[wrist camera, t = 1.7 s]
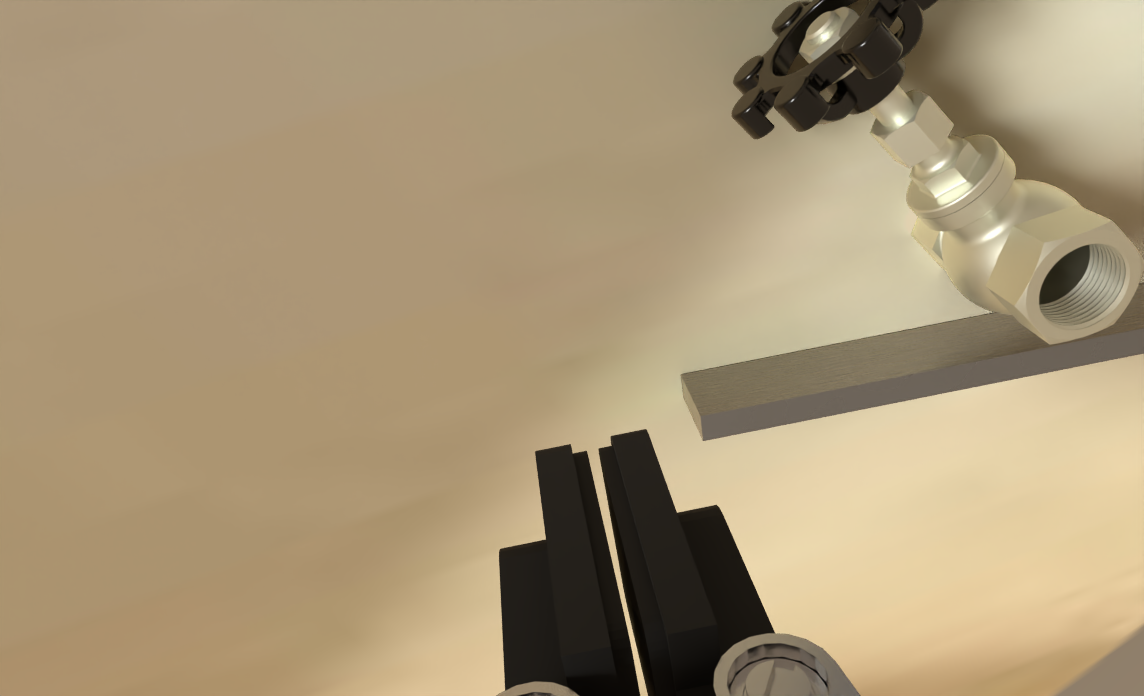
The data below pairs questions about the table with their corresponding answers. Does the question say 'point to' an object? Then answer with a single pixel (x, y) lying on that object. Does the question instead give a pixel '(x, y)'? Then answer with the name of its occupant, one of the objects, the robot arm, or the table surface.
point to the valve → (946, 172)
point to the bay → (893, 370)
